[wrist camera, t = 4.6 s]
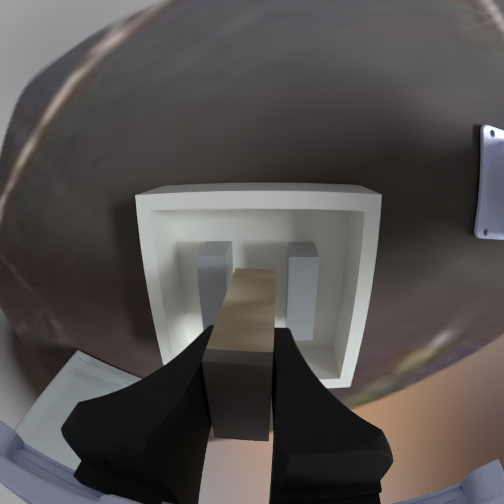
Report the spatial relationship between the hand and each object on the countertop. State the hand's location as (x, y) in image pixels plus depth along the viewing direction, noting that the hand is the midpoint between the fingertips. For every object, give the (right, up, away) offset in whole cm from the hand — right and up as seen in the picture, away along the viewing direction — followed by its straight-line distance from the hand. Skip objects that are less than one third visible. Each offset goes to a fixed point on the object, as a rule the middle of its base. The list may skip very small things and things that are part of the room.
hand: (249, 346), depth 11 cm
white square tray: (+1, +2, +7) cm, 7 cm away
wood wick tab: (0, +1, +3) cm, 4 cm away
